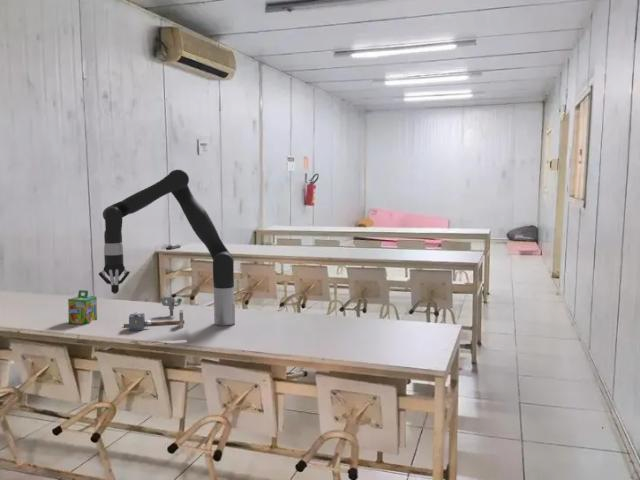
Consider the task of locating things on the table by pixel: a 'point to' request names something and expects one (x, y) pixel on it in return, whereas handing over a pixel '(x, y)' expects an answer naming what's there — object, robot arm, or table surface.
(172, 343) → the table surface
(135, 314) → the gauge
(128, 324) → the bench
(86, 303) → the chalk box
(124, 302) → the table surface
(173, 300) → the mechanical component
